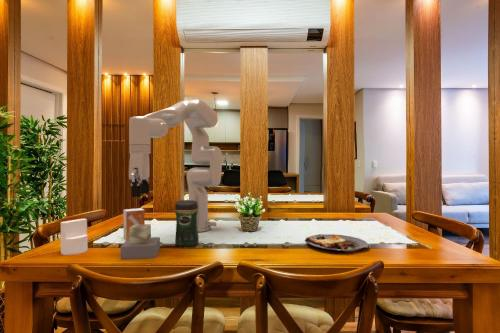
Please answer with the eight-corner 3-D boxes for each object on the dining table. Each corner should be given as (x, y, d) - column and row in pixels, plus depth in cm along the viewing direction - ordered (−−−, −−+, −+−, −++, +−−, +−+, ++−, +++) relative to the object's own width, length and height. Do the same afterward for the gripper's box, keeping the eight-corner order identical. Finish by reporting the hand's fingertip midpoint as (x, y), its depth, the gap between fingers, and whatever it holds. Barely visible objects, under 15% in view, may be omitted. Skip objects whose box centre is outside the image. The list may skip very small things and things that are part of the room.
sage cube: (150, 239, 119) (150, 224, 119) (146, 243, 113) (145, 227, 113) (135, 239, 119) (135, 224, 118) (129, 244, 113) (129, 227, 112)
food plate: (331, 257, 111) (332, 248, 111) (293, 243, 131) (294, 234, 131) (379, 250, 122) (379, 241, 122) (337, 237, 143) (338, 230, 143)
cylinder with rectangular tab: (68, 256, 113) (68, 224, 113) (56, 252, 118) (55, 221, 117) (92, 250, 121) (91, 219, 120) (79, 246, 125) (79, 217, 125)
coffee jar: (199, 241, 133) (199, 199, 133) (196, 246, 125) (196, 201, 125) (177, 241, 133) (177, 199, 133) (173, 246, 125) (172, 201, 125)
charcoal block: (159, 249, 123) (159, 237, 123) (155, 258, 111) (155, 245, 111) (128, 250, 121) (128, 238, 121) (120, 260, 109) (120, 246, 109)
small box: (126, 240, 135) (125, 211, 134) (123, 237, 140) (123, 209, 140) (145, 238, 139) (144, 209, 139) (141, 235, 144) (141, 207, 144)
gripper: (137, 150, 124) (138, 192, 124) (121, 149, 106) (121, 198, 107) (156, 150, 124) (157, 192, 124) (142, 149, 107) (143, 198, 107)
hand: (140, 195), depth 116 cm, fingers open, 9 cm apart
